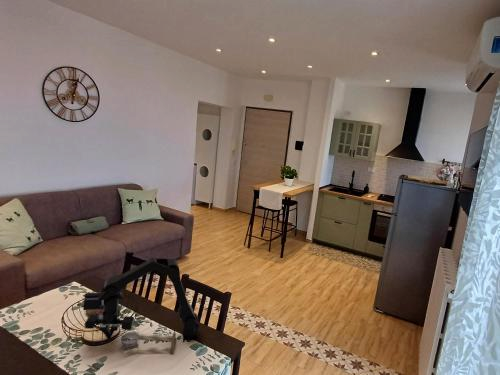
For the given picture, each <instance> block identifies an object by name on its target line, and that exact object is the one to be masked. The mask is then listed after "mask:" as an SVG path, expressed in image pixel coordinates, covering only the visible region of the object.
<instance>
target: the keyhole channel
mask: <svg viewBox="0 0 500 375" xmlns="http://www.w3.org/2000/svg"><path fill="white" fill-rule="evenodd" d="M131 332H134V333H137V334H138V340H139V339H140V340H150V341H161V342H171V343H170V347H133V348H131V349H126V350H125V351H123V352H124V353H123V355H124V357H129V356H132V355H137V354H170V355H173V354H174V351H175V350H174V349H175V343H176V335H177V333H176V332H173V333H172V335H162V334H149V333H140V332H137V331H136V330H132V331H131Z"/></svg>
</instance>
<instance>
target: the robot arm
mask: <svg viewBox="0 0 500 375" xmlns="http://www.w3.org/2000/svg"><path fill="white" fill-rule="evenodd" d="M151 271H153V272H157V273H160V274H162V275H165V276H167V278H168V279H169V280H170V282H171V283H172V286H173V288H174V291H175V295H176V297H177V300H178V303H179V307H178V308H177V311H178V316H179V318H180V322H181V324H182V323H183V327H182V340H184V341H185V340H186V341H198V337H199V336H198V334H199V328H200V326H201V324H200V321H199V317H198V315H197V313H196V312H194V309H193V307H192V305H191V304H190V302H189V301H188V298H187V295H186V292H185V290H184V286H183V283H182V280H181V271H180V266H179V263H178V260H177V259H176V258H165V257H163V258H162V257H160V258H158V257H157V258H156V257H150V258H149V259H148V260H146V261H144V262H142V263H141V264H138V265H137V266H135V267H133V268H132V269H129V270H128V271H126V272H124V273H122V274H121V273H120V274H116V275H112V276H109V277H108V278H107V279H105V281H104V285H103V286H102V287H100V288H99V292H100V293H99V292H92V293H91V292H86V293H85V294H84V300H83V305H82V306H83V307H82V308H83V309H82V310H83V311H86V310H95V309H100V307H101V306H102V300H104V308H103V319H99V315H90V316H89V315H88V317H87V318H86V320H85V323H84V328H85V329H87V330H88V329H94V328H96V326H95V324H100V327H98V328H99V331H101V332H102V333H103V335H104V336H105V338H106V339H107V341H111V340H112V337H113V334H114V332H117V331H118V330H119V327H120V326H121V329H122V330H123V331H130V330H132V329H133V325H134V323H135V318H134V317H133V316H124V318H123V319H121V318H120V314H121V312H122V311H121V310H122V306H121V305H120V304H119V300H123V299H124V293H123V292H122V290H124V288H125V287H127V286H128V285H129V284H131V283H132V282H134V281H135V280H138V279H140V278H141V277H143V276H144V275H146V274H149V273H150V272H151ZM110 326H111V327H110Z"/></svg>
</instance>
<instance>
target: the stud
mask: <svg viewBox="0 0 500 375" xmlns="http://www.w3.org/2000/svg"><path fill="white" fill-rule="evenodd" d="M138 340H139V338H138V334H137V333H134V332H132V331H129V332H126V333H123V335H121V337H120V342H121V344H122V345H123V348H124V349H126V350H130V349H134V348H135V346H136V343H137V342H139V341H138Z"/></svg>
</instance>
